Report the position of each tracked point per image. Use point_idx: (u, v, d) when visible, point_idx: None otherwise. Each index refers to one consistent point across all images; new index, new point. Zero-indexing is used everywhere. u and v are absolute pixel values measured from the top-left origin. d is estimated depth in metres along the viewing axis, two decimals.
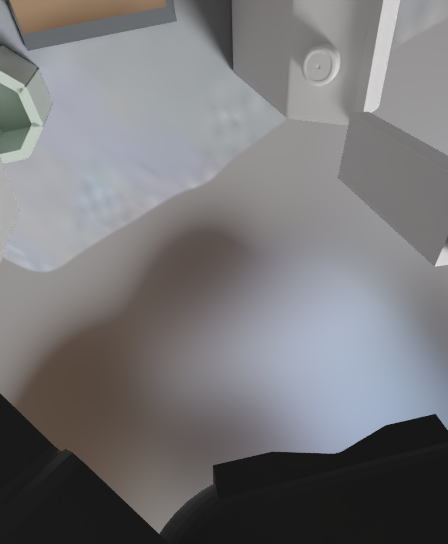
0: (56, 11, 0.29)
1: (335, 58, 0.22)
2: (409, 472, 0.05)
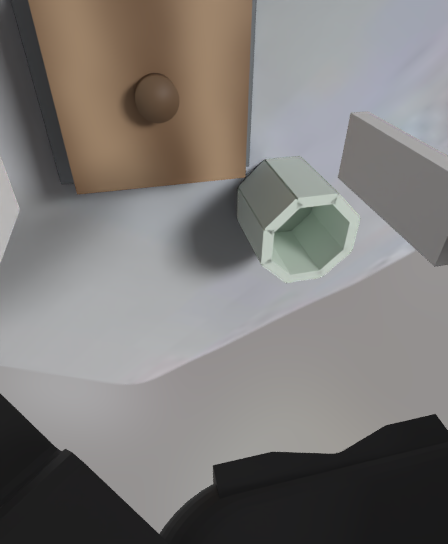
0: (232, 136, 0.25)
1: None
2: (409, 472, 0.05)
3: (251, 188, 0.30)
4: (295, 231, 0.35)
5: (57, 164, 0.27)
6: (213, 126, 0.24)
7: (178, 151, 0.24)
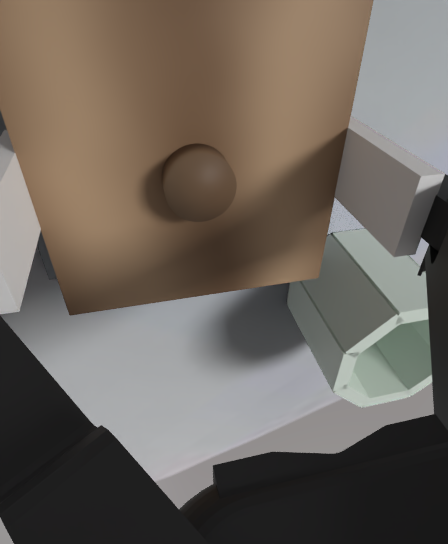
0: (307, 227, 0.16)
1: None
2: (409, 472, 0.05)
3: None
4: None
5: (43, 255, 0.18)
6: (281, 215, 0.15)
7: (224, 251, 0.16)
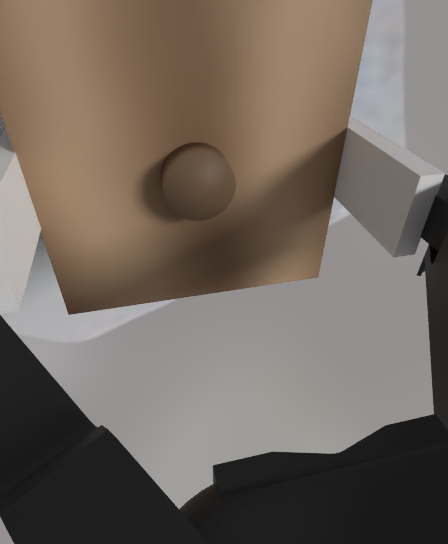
0: (307, 226, 0.16)
1: None
2: (409, 472, 0.05)
3: None
4: None
5: None
6: (280, 214, 0.15)
7: (224, 251, 0.16)
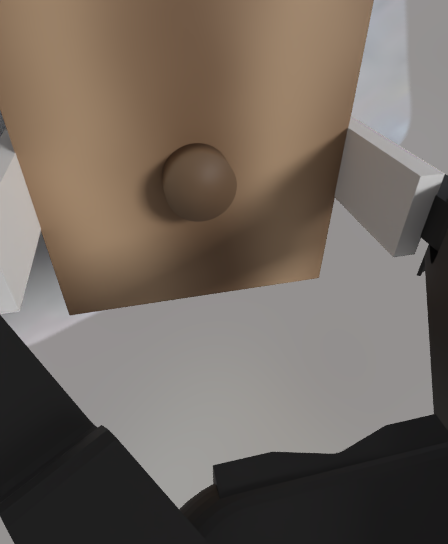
0: (307, 227, 0.16)
1: None
2: (409, 472, 0.05)
3: None
4: None
5: None
6: (281, 215, 0.15)
7: (224, 251, 0.16)
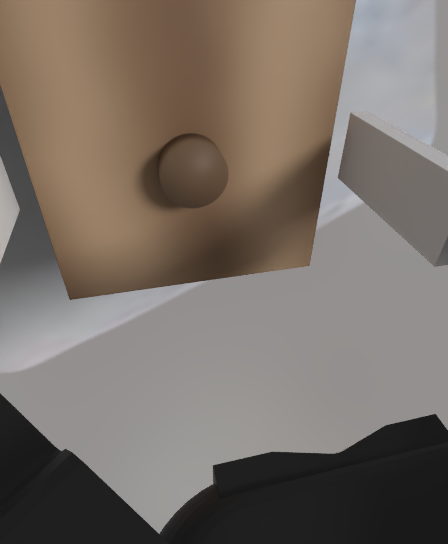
0: (297, 215, 0.17)
1: None
2: (409, 472, 0.05)
3: None
4: None
5: None
6: (272, 204, 0.16)
7: (218, 238, 0.16)
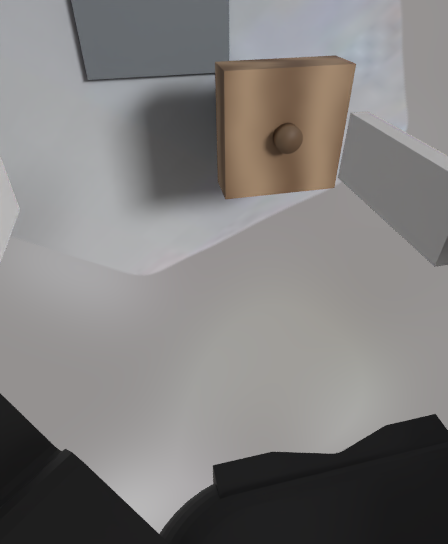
0: (329, 161, 0.37)
1: None
2: (409, 472, 0.05)
3: None
4: None
5: (85, 62, 0.37)
6: (318, 154, 0.36)
7: (293, 171, 0.36)
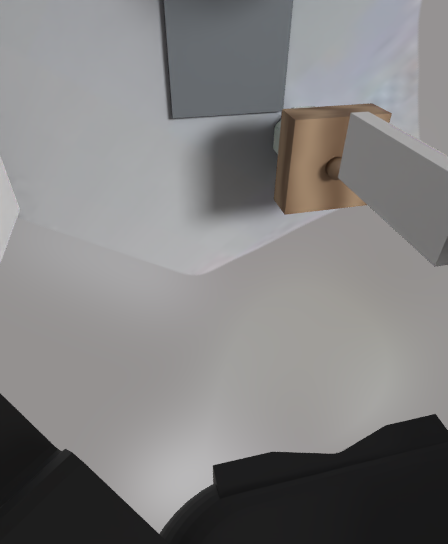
0: None
1: None
2: (409, 472, 0.05)
3: None
4: None
5: (172, 105, 0.46)
6: None
7: (338, 192, 0.46)
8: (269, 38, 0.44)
